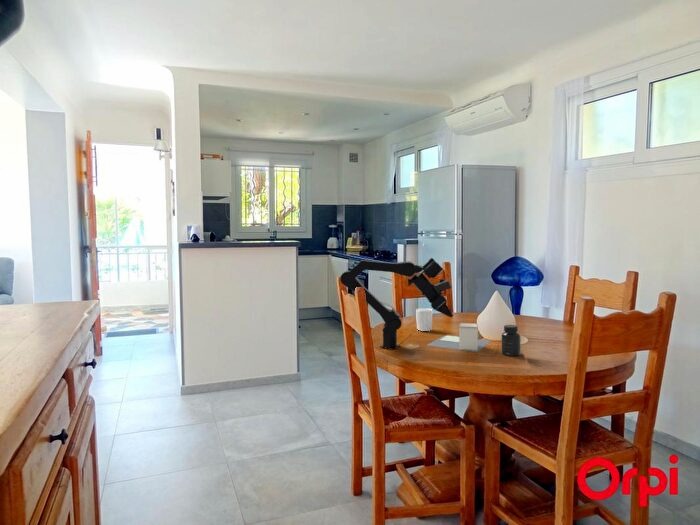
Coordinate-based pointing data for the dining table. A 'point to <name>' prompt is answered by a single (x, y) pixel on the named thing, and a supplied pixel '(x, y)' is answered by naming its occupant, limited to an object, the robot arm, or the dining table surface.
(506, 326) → the supplement bottle
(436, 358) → the dining table surface
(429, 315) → the white cup
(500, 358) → the dining table surface
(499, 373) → the dining table surface
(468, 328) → the white rounded cube
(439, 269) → the robot arm
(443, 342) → the board
